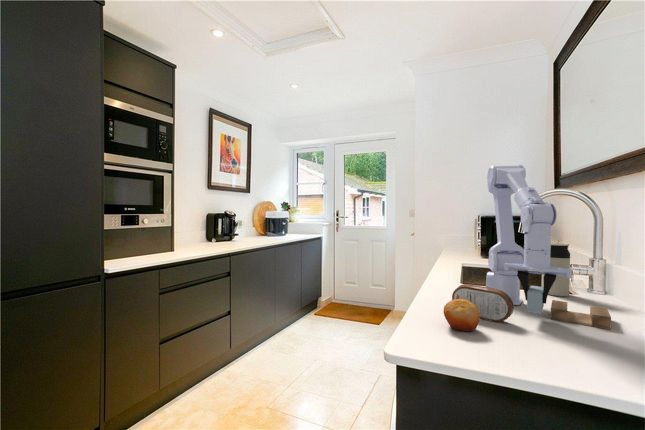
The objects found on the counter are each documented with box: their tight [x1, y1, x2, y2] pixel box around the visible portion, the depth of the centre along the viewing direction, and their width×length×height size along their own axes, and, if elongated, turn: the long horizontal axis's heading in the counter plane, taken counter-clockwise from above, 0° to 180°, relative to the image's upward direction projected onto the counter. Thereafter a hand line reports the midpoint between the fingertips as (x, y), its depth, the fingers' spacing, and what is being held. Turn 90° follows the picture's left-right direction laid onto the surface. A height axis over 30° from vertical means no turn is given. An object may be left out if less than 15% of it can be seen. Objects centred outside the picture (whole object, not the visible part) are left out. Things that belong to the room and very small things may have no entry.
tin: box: [451, 283, 515, 323], centre depth 86 cm, size 15×3×8 cm, turn 47°
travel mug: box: [541, 241, 571, 297], centre depth 112 cm, size 8×8×18 cm
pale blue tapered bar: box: [526, 285, 545, 315], centre depth 83 cm, size 3×9×5 cm, turn 142°
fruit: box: [443, 299, 481, 332], centre depth 78 cm, size 8×8×8 cm
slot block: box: [550, 299, 612, 330], centre depth 85 cm, size 12×10×3 cm
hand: (535, 301), depth 83 cm, fingers closed on pale blue tapered bar, 3 cm apart
